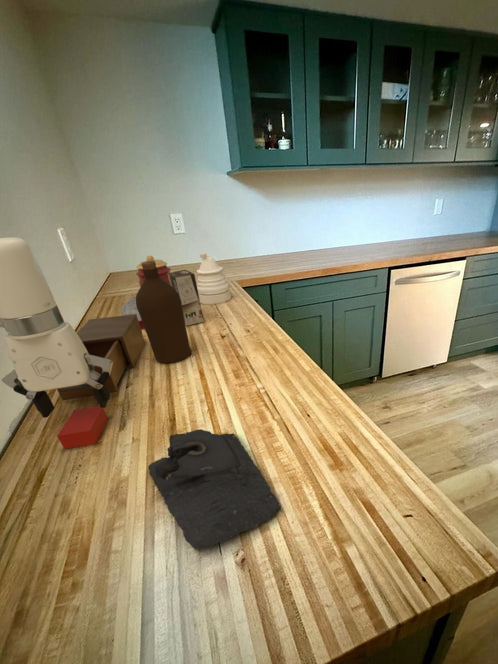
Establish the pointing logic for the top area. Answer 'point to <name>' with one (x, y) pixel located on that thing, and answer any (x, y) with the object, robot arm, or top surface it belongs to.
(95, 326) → the cabinet
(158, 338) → the olive oil
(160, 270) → the kitchen canister
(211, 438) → the folded black cloth
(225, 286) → the honey pot
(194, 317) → the coffee box
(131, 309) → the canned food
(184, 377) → the top surface
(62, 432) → the red block
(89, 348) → the drawer
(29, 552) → the top surface
